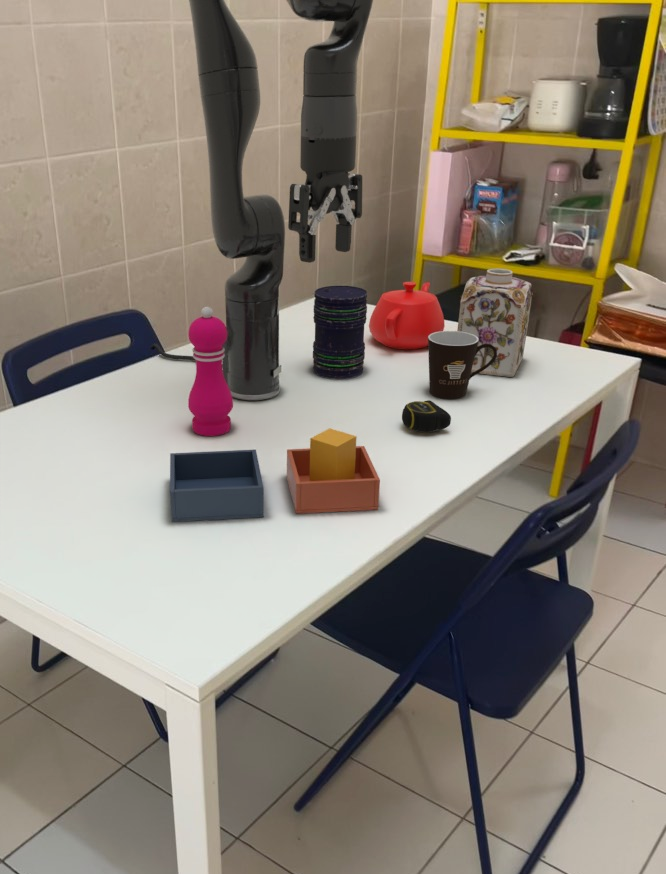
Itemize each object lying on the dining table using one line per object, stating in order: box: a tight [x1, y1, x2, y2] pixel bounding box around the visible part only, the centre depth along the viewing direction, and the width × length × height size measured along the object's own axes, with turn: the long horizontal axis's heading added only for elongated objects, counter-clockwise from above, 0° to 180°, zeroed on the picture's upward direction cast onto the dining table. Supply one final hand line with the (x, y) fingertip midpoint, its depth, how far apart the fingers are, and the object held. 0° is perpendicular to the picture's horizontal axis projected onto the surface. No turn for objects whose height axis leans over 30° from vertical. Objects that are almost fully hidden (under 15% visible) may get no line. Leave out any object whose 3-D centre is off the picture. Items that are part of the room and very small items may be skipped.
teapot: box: [368, 281, 446, 350], centre depth 181 cm, size 25×16×12 cm, turn 153°
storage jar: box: [312, 285, 368, 380], centre depth 164 cm, size 10×10×15 cm
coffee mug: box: [427, 330, 497, 400], centre depth 154 cm, size 12×9×10 cm
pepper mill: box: [187, 306, 234, 437], centre depth 138 cm, size 7×7×20 cm
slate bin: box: [169, 449, 265, 523], centre depth 121 cm, size 12×12×4 cm
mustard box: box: [309, 427, 357, 481], centre depth 121 cm, size 4×4×8 cm
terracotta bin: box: [286, 445, 381, 515], centre depth 122 cm, size 11×11×4 cm
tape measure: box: [401, 399, 452, 433], centre depth 142 cm, size 7×7×4 cm
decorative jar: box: [456, 268, 534, 378], centre depth 165 cm, size 12×12×18 cm
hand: (325, 256), depth 126 cm, fingers open, 8 cm apart
